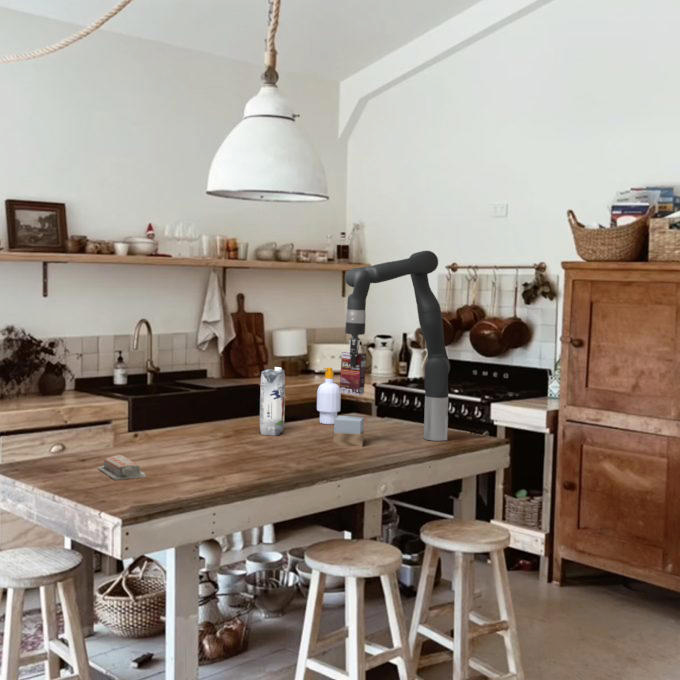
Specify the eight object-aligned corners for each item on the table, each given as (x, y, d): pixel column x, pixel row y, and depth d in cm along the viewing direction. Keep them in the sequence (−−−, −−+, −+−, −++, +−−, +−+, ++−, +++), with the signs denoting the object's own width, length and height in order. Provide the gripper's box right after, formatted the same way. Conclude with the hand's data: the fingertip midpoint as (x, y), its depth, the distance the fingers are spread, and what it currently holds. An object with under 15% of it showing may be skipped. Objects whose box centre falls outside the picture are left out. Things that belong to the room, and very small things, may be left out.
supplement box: (338, 393, 336) (341, 352, 335) (344, 392, 341) (346, 351, 339) (359, 395, 332) (361, 354, 331) (364, 394, 337) (366, 353, 335)
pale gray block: (363, 429, 342) (364, 417, 341) (360, 434, 332) (360, 421, 332) (338, 428, 343) (338, 415, 343) (334, 432, 334) (334, 419, 333)
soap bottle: (311, 422, 383) (312, 367, 381) (330, 420, 389) (331, 366, 388) (326, 426, 375) (327, 369, 373) (344, 424, 381) (346, 368, 379)
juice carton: (258, 435, 349) (259, 368, 347) (263, 430, 360) (264, 365, 358) (280, 436, 348) (281, 368, 346) (285, 431, 359) (286, 366, 356)
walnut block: (363, 442, 343) (363, 429, 342) (362, 447, 332) (362, 434, 332) (335, 441, 344) (335, 428, 343) (333, 446, 333) (333, 433, 332)
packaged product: (146, 463, 274) (115, 466, 269) (146, 478, 274) (115, 482, 269) (127, 452, 289) (97, 455, 284) (127, 467, 290) (97, 470, 284)
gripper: (364, 323, 327) (362, 368, 328) (366, 321, 341) (364, 363, 343) (344, 322, 327) (342, 366, 329) (346, 320, 342) (344, 362, 343)
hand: (353, 365), depth 336 cm, fingers closed on supplement box, 6 cm apart
